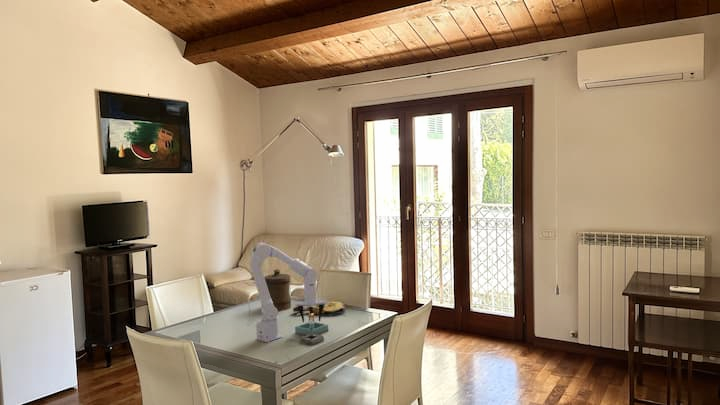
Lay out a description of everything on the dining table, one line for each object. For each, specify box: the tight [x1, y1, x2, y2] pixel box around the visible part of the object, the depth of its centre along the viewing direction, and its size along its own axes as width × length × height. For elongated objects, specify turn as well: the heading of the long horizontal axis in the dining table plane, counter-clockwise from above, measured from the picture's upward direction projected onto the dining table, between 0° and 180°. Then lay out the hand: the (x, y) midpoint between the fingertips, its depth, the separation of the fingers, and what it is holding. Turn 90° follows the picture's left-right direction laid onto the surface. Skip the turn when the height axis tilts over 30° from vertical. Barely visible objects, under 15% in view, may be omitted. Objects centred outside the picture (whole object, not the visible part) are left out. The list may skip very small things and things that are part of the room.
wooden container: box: [264, 268, 292, 312], centre depth 280 cm, size 15×15×22 cm
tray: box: [294, 321, 329, 336], centre depth 233 cm, size 11×11×3 cm
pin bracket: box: [299, 334, 325, 346], centre depth 219 cm, size 8×8×2 cm
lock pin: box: [308, 312, 315, 330], centre depth 233 cm, size 3×3×8 cm
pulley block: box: [292, 301, 346, 317], centre depth 266 cm, size 14×6×30 cm
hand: (311, 321), depth 233 cm, fingers open, 7 cm apart
